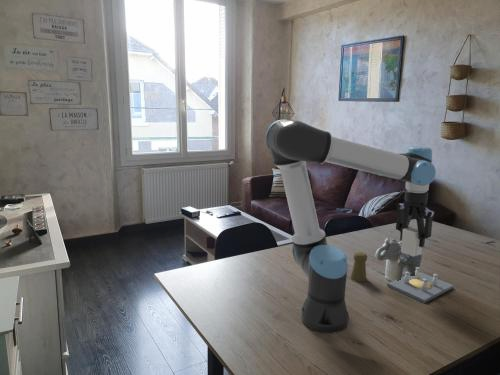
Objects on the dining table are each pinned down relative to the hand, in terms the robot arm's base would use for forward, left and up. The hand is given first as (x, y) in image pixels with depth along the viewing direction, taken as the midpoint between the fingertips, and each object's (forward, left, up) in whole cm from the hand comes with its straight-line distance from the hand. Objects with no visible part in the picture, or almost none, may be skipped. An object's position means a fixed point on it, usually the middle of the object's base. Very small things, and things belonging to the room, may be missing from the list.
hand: (411, 251), depth 137 cm
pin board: (+7, -1, -16) cm, 17 cm away
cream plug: (0, 0, 0) cm, 0 cm away
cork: (-7, +17, -16) cm, 24 cm away
